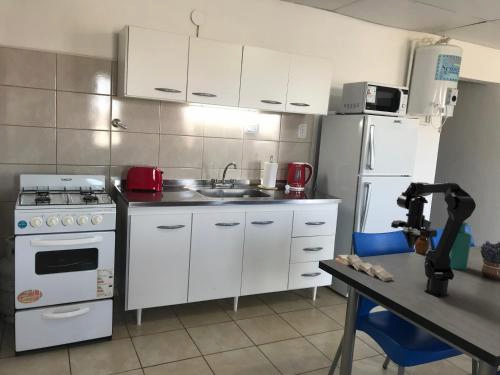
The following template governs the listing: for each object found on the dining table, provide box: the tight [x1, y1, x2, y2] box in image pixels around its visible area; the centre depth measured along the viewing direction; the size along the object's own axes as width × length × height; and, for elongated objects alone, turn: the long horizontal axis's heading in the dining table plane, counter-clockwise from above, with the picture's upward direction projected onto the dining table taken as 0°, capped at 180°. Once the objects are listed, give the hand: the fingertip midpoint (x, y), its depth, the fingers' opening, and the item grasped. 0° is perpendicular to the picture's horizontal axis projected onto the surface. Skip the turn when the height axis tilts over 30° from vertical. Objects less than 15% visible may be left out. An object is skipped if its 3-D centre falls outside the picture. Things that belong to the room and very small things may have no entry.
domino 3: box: [347, 254, 365, 272], centre depth 183 cm, size 2×5×8 cm
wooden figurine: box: [413, 228, 430, 255], centre depth 216 cm, size 7×6×15 cm
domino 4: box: [359, 262, 378, 278], centre depth 177 cm, size 2×5×8 cm
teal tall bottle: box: [449, 221, 473, 271], centre depth 196 cm, size 10×8×22 cm
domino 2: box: [334, 257, 353, 267], centre depth 190 cm, size 2×5×8 cm
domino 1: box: [337, 254, 351, 264], centre depth 189 cm, size 2×5×8 cm
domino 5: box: [370, 264, 394, 282], centre depth 173 cm, size 2×5×8 cm
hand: (410, 248), depth 176 cm, fingers closed
